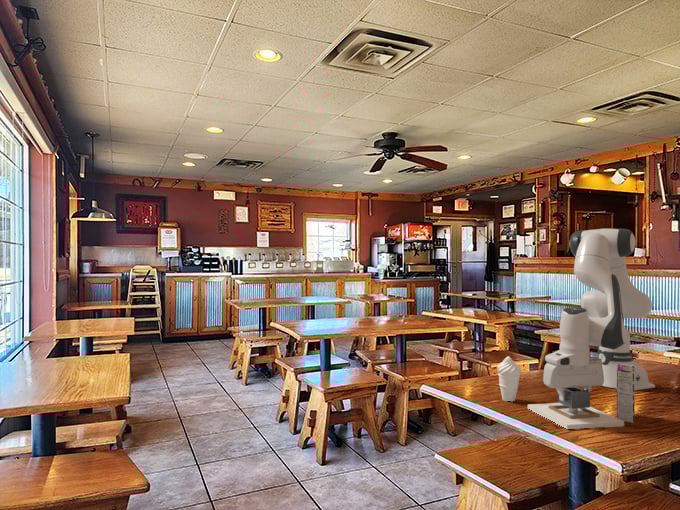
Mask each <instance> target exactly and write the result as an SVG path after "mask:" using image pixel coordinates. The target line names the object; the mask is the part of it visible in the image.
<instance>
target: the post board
mask: <svg viewBox="0 0 680 510" xmlns="http://www.w3.org/2000/svg"><path fill="white" fill-rule="evenodd" d="M527 409H528V410H529V409H530V410H529V411H531V410H532V411H531V412H533V413H534V412H535V414H536V413H537V414H536V415H538V414H539V415H538V416H540V415H541V416H540V417H542V416H543V417H542V418H544V417H545V418H544V419H546V418H547V419H546V420H548V419H549V420H551V421H553V422H555V423H556V424H555V423H554V424H555V425H557V424H558V425H557V426H559V425H560V426H559V427H561V426H562V427H564V428H566V429H575V430H581V429H580V428H590V429H596V428H595V427H605V428H617V427H625V422H624V421H622V420H620V419H617V417H616V416H613V415H611V414H608V413H606V412H604V411H600V410H598V409H596V408H594V407H592V406H590V408H574V409H572V408H569V407H567V406H565V405H563V404H561V403H559V402H547V403H534V404H533V403H531V404H527ZM549 420H548V421H549ZM551 421H550V422H551ZM553 422H552V423H553ZM562 427H561V428H562ZM564 428H563V429H564ZM566 429H565V430H566Z"/></svg>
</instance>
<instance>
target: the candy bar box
mask: <svg viewBox="0 0 680 510" xmlns="http://www.w3.org/2000/svg"><path fill="white" fill-rule="evenodd" d="M635 391H636V390H635V375H634V365H627V364H618V368H617V388H616V418H617V419H620V420H622V421H624V423H630V424H635V408H636V407H635V406H636V405H635V402H636V401H635V397H636V396H635V393H636V392H635Z"/></svg>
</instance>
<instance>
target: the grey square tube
mask: <svg viewBox="0 0 680 510" xmlns="http://www.w3.org/2000/svg"><path fill="white" fill-rule="evenodd" d="M584 389H585V388H581V387H564V391H563V393H564V395H566V396H567V398H566V399H567V400H566V401H561V400H560V399H559V393H558V392H557V393H558V394H557V403H561V404H563V405H565V406H567V407H569V408H572V409H574V408H590V407H591V391H590V392H589V391H586V390H584Z"/></svg>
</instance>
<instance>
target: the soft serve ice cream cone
mask: <svg viewBox="0 0 680 510" xmlns="http://www.w3.org/2000/svg"><path fill="white" fill-rule="evenodd" d="M496 370H497V373H498V379H499V380H498V381H499V383H498V386H499V388H500V394H501V399H502V401H504V402H507V401H511V402H510V403H513V401H514V402H515V401H516V397H517V392H518V389H519V382H520V376H521V374H522V368H521V367H520V365H519V364H518V363H516V361H514V360H513V359H512V358H511V357H510V356H509V355H507V356H506V357H505V358H504V359H503V360H502V362H500V363H499V364H498V365H497V368H496Z"/></svg>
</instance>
